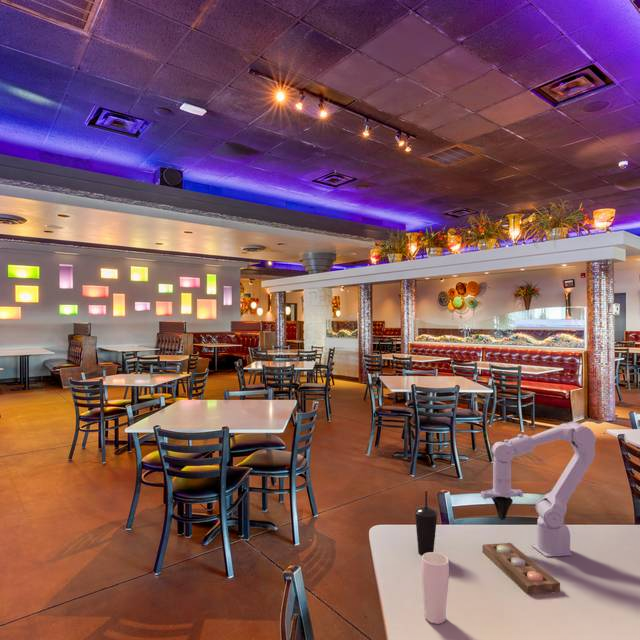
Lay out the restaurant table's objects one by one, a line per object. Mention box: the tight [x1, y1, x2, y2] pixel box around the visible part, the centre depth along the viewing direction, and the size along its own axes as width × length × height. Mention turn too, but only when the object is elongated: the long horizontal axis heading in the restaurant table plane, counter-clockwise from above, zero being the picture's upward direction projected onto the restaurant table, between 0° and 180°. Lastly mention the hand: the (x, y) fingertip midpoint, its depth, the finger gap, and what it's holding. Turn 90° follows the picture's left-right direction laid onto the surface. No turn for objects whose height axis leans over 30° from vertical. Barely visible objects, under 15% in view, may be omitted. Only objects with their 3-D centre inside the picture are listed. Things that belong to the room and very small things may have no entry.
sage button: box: [497, 545, 510, 554], centre depth 144 cm, size 4×4×3 cm
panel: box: [482, 542, 561, 596], centre depth 136 cm, size 10×24×2 cm, turn 9°
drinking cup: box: [413, 490, 439, 557], centre depth 146 cm, size 8×8×20 cm
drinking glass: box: [421, 551, 450, 625], centre depth 113 cm, size 7×7×15 cm
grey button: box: [511, 557, 525, 567], centre depth 136 cm, size 4×4×3 cm
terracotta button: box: [527, 571, 543, 582], centre depth 128 cm, size 4×4×3 cm
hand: (501, 518), depth 152 cm, fingers closed
